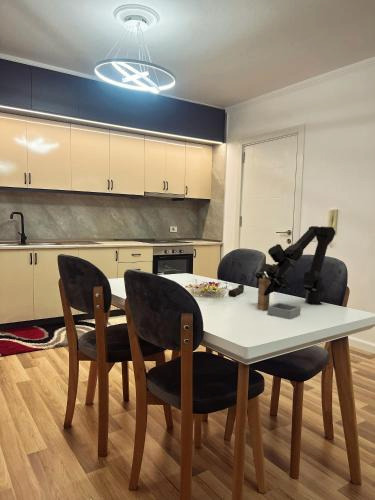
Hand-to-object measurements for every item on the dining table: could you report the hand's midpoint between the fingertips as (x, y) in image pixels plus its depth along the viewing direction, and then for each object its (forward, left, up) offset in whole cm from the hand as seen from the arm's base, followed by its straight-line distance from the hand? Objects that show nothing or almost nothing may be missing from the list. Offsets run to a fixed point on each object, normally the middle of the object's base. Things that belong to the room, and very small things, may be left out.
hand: (261, 294), depth 171 cm
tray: (-8, +9, -7) cm, 14 cm away
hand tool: (+4, -35, -8) cm, 36 cm away
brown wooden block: (-1, -1, -7) cm, 7 cm away
